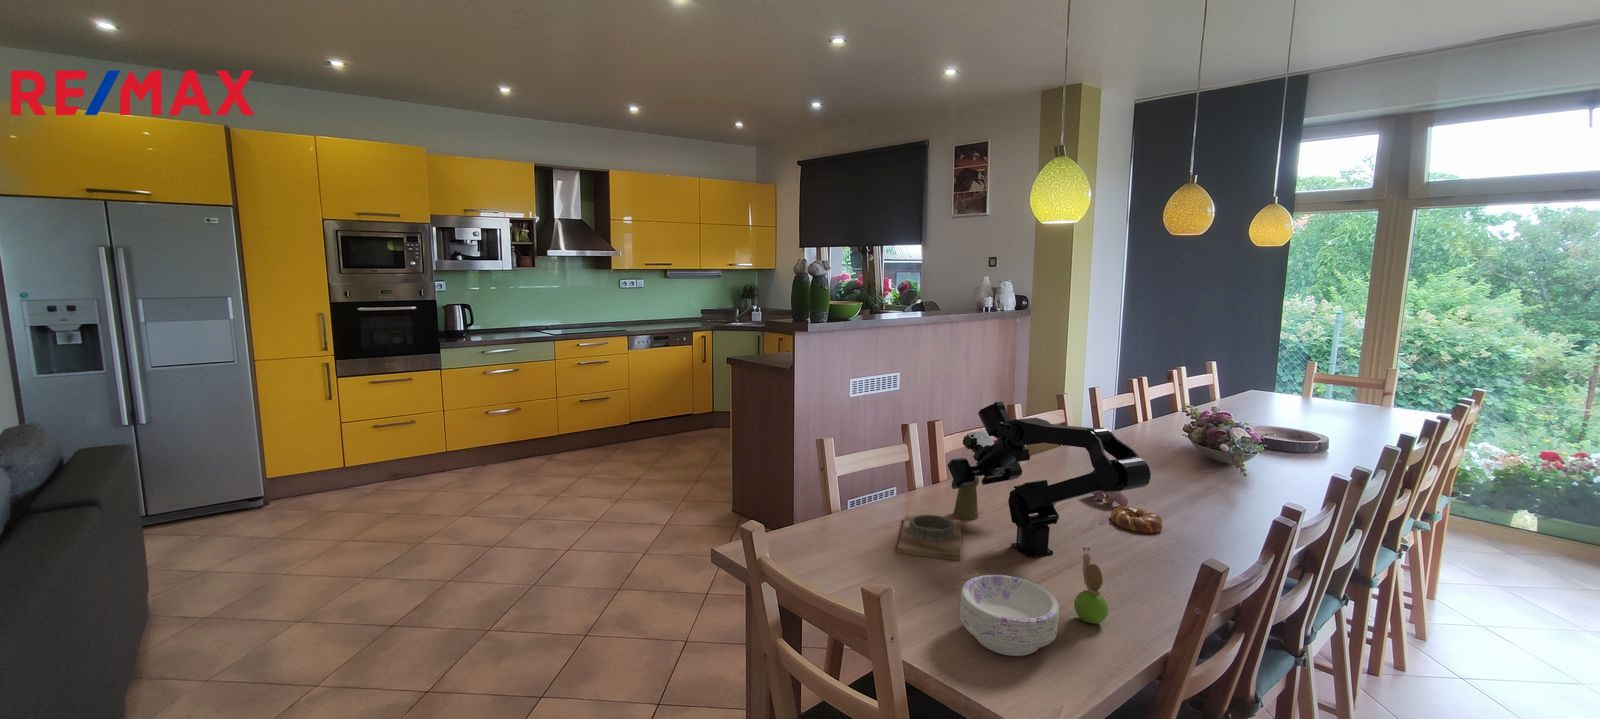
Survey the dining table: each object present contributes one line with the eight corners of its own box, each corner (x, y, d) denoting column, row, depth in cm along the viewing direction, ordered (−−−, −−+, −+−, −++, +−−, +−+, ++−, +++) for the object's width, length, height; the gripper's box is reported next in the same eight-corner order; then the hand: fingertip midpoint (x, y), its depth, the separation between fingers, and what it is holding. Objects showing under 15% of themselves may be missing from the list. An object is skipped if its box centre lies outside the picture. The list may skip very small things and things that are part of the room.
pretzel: (1098, 520, 163) (1099, 506, 162) (1127, 514, 168) (1129, 500, 167) (1143, 538, 152) (1144, 523, 152) (1172, 531, 157) (1174, 516, 157)
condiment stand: (905, 519, 160) (906, 504, 159) (960, 525, 157) (961, 510, 156) (897, 552, 141) (898, 536, 140) (960, 560, 137) (961, 543, 137)
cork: (976, 511, 166) (979, 469, 165) (980, 520, 160) (983, 477, 159) (951, 510, 167) (954, 468, 165) (955, 519, 161) (957, 475, 159)
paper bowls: (1017, 680, 97) (1020, 630, 96) (939, 633, 110) (941, 588, 109) (1075, 647, 106) (1079, 601, 105) (997, 607, 119) (1000, 565, 117)
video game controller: (1088, 501, 180) (1082, 480, 178) (1099, 492, 182) (1093, 471, 180) (1119, 514, 172) (1113, 492, 169) (1130, 504, 173) (1124, 482, 171)
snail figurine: (1094, 610, 118) (1100, 547, 117) (1112, 629, 112) (1119, 563, 110) (1065, 610, 118) (1070, 546, 117) (1081, 629, 112) (1087, 562, 110)
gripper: (1017, 420, 159) (983, 453, 171) (955, 426, 151) (924, 460, 163) (1039, 461, 153) (1002, 491, 165) (975, 469, 145) (941, 501, 157)
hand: (967, 485), depth 162 cm, fingers open, 9 cm apart
